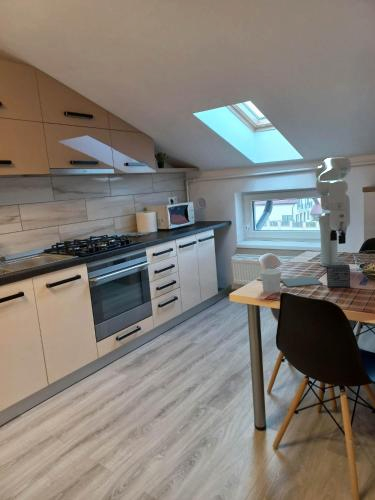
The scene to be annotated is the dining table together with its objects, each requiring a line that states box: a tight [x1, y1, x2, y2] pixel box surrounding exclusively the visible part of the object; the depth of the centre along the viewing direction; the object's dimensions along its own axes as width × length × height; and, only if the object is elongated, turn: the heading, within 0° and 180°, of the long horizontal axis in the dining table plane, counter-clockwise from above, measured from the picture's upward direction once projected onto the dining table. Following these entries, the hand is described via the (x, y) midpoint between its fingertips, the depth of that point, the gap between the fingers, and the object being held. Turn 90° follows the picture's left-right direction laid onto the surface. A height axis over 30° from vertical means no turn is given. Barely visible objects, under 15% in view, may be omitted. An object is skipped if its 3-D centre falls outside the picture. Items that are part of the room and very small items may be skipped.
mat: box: [280, 275, 324, 288], centre depth 196 cm, size 18×14×1 cm
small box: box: [326, 264, 351, 289], centre depth 183 cm, size 11×6×10 cm, turn 71°
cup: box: [260, 268, 282, 294], centre depth 185 cm, size 10×10×10 cm
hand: (337, 242), depth 180 cm, fingers open, 9 cm apart
